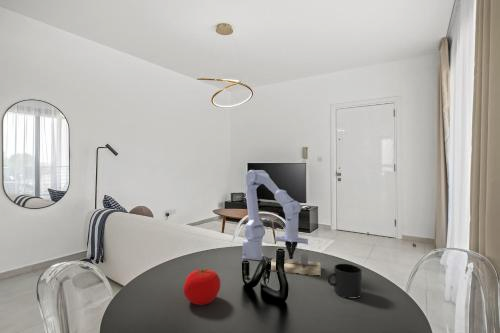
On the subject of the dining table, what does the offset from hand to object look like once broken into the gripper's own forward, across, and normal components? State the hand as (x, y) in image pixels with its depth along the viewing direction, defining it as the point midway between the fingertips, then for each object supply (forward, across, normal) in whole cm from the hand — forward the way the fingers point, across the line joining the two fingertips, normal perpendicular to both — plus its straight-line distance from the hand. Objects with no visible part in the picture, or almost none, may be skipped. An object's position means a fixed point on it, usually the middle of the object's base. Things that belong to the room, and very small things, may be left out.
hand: (291, 258), depth 119 cm
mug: (+5, +21, -18) cm, 28 cm away
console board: (+4, +2, 0) cm, 5 cm away
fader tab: (+2, +6, 0) cm, 6 cm away
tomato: (+5, -26, -38) cm, 46 cm away
